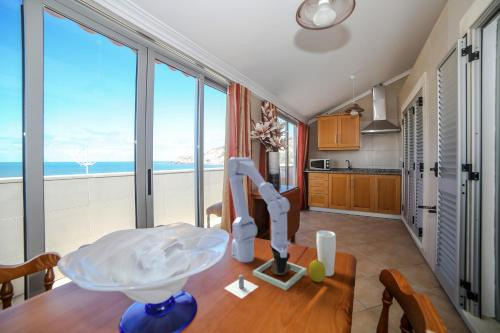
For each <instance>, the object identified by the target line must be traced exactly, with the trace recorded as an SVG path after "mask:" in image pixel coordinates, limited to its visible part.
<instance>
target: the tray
mask: <svg viewBox="0 0 500 333" xmlns="http://www.w3.org/2000/svg"><path fill="white" fill-rule="evenodd" d="M273 260H274V257H273V258H271V259H270V260H268V261H266V262H265V263H264V264H262V265H260V266H259V267H257V268H255V269H253V270H252V276H254V277H256V278H258V279H260V280H262V281H264V282H267V283H269V284H271V285H273V286H275V287H277V288H280V289H282V290H284V291H287V290H288V289H290V288H291V287H292V286H293V285H294V284H296V282H297V281H298V280H300V279H301V278H302V277H303V276H307V268H306V267H303V266H300V265H297V264H295V263H292V262H289V261H287V264H290V271H293V272H296V273H295V274H294V275H293V276H292V277H291V278H290V279H288V280H287V281H286V282H283V281H281V280H279V279H276V278H274V277H272V276H270V275H267V274H265V273H263V272H264V271H265V270H267V269H268V268H270V267H271V261H273Z"/></svg>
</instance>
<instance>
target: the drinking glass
mask: <svg viewBox="0 0 500 333" xmlns="http://www.w3.org/2000/svg"><path fill="white" fill-rule="evenodd" d="M315 240H316V250H317V251H316V252H317V260H319V261H321V262H322V263H323V265H324V267H325V271H326V275H325V277H332V276H333V275H334V274H335V259H336V250H337V249H336V248H337V247H336V245H337V244H336V243H337V236H336V233H335V232H333V231H331V230H318V231H316V239H315Z"/></svg>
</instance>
